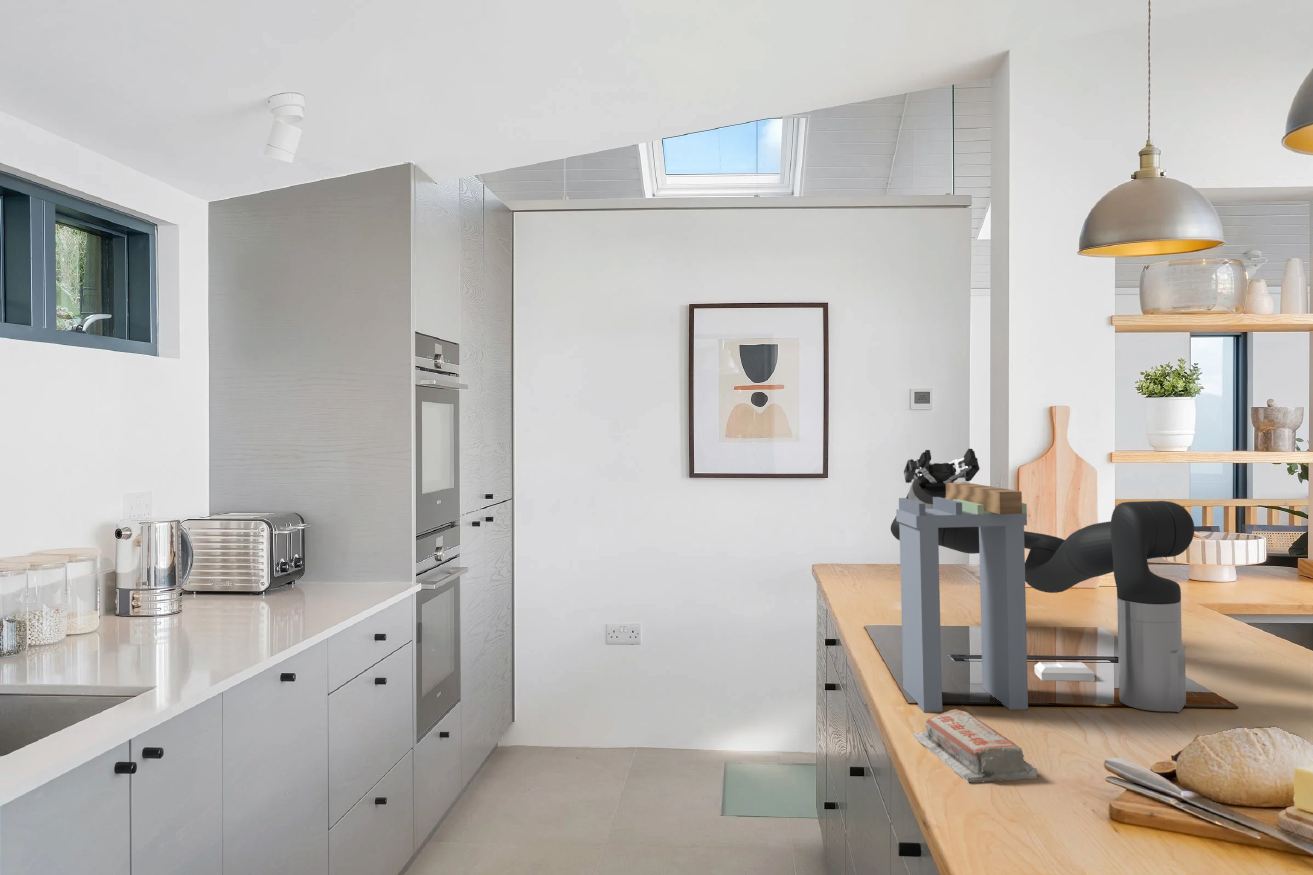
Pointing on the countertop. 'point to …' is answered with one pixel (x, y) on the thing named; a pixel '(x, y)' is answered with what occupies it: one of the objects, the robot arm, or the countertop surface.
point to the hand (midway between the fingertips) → (950, 453)
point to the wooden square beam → (986, 497)
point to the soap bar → (1063, 671)
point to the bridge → (997, 593)
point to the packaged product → (974, 748)
